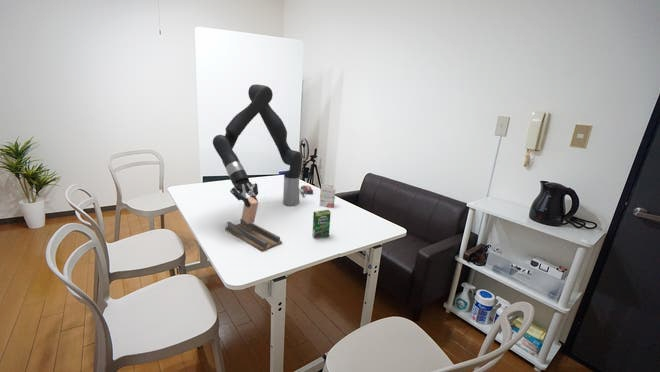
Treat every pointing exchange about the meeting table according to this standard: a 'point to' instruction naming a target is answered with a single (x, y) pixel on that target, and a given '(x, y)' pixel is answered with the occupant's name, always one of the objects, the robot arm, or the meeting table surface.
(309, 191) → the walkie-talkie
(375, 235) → the meeting table surface
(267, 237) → the door track
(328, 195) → the ink cartridge box
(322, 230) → the coffee box
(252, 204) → the light orange-brown block
